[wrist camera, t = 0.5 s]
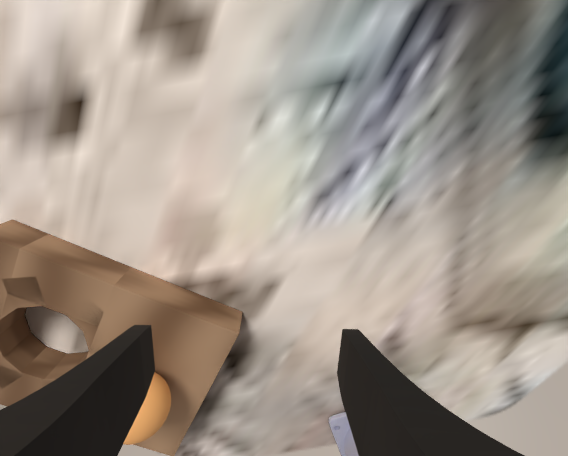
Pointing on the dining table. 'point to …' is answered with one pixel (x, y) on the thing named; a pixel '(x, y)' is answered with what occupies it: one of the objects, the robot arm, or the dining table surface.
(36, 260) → the board
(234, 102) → the dining table surface
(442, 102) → the dining table surface
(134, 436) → the ball
